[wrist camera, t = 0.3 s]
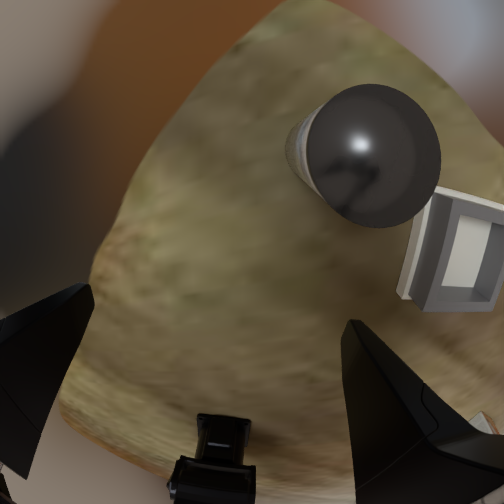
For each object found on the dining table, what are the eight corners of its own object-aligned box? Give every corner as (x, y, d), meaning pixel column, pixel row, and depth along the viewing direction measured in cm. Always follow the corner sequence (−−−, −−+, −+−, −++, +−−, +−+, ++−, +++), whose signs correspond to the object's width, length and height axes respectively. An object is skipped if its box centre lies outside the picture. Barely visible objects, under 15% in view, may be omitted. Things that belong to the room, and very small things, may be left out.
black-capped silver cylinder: (346, 186, 21) (428, 235, 9) (282, 178, 21) (301, 219, 9) (353, 123, 19) (445, 105, 8) (287, 113, 19) (315, 70, 8)
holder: (470, 294, 24) (492, 315, 20) (395, 291, 24) (415, 317, 20) (495, 202, 20) (524, 213, 16) (420, 181, 20) (449, 190, 16)
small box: (490, 417, 33) (510, 454, 23) (469, 436, 34) (486, 473, 25) (481, 409, 31) (503, 451, 22) (456, 429, 33) (476, 472, 23)
